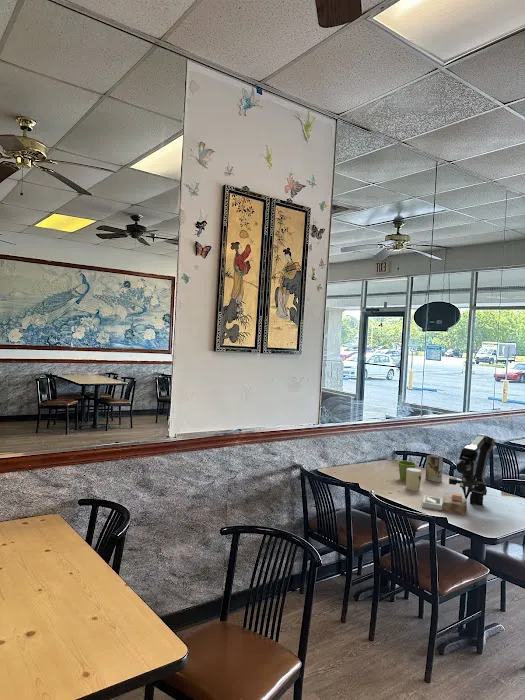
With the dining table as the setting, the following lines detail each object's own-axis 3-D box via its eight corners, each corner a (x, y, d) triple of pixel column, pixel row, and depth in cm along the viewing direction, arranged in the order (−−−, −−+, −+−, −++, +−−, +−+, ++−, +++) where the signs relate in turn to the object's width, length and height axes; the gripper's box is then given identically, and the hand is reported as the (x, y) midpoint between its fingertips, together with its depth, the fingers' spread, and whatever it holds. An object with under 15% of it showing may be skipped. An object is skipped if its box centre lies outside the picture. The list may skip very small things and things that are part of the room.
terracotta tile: (461, 498, 273) (462, 494, 273) (461, 501, 268) (462, 496, 268) (452, 496, 275) (452, 492, 275) (452, 499, 270) (452, 494, 270)
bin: (442, 503, 278) (442, 498, 278) (441, 511, 265) (441, 505, 264) (423, 500, 281) (424, 495, 281) (422, 507, 268) (422, 502, 268)
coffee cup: (421, 492, 297) (423, 472, 297) (405, 490, 299) (407, 470, 299) (419, 487, 306) (421, 468, 306) (404, 485, 308) (405, 466, 308)
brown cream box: (465, 507, 273) (466, 498, 273) (466, 515, 260) (467, 506, 260) (442, 503, 277) (443, 495, 277) (442, 511, 264) (443, 502, 264)
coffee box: (442, 481, 325) (444, 457, 325) (437, 482, 321) (439, 458, 321) (429, 477, 332) (431, 454, 332) (424, 479, 328) (426, 455, 327)
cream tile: (427, 496, 274) (425, 500, 274) (426, 499, 269) (424, 503, 270) (436, 500, 272) (434, 504, 273) (435, 503, 268) (433, 507, 268)
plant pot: (392, 478, 323) (394, 461, 323) (402, 476, 331) (403, 459, 331) (408, 483, 314) (409, 466, 314) (418, 480, 322) (419, 463, 322)
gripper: (450, 471, 265) (447, 499, 266) (487, 476, 259) (485, 506, 259) (450, 466, 276) (447, 494, 276) (486, 472, 269) (484, 500, 269)
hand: (465, 498), depth 270 cm, fingers closed
